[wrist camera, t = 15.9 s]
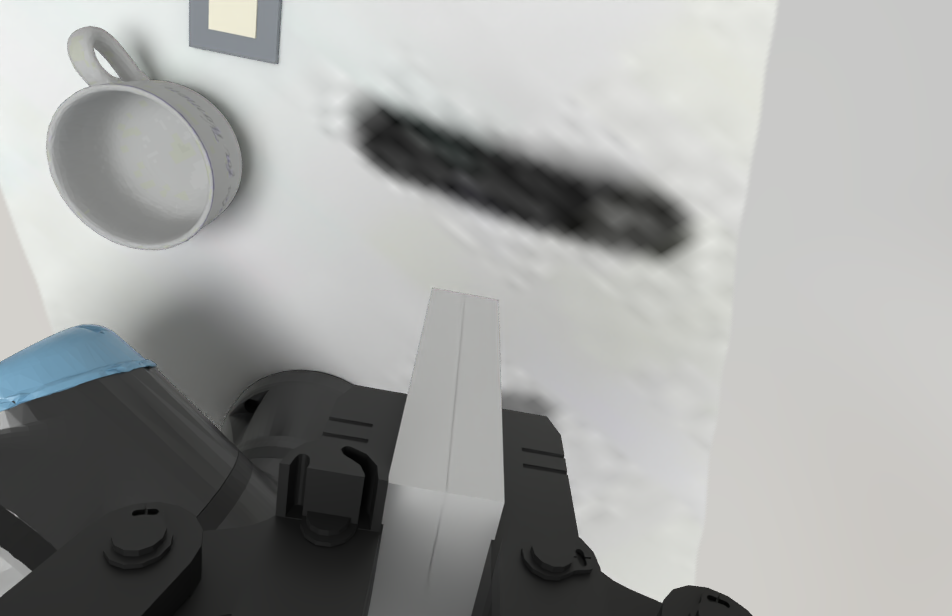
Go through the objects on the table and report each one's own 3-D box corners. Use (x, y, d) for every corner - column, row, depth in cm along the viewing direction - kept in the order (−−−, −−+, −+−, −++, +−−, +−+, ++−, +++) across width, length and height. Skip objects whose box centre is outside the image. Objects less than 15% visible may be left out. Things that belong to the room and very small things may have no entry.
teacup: (267, 217, 49) (228, 249, 41) (132, 222, 49) (69, 255, 42) (231, 22, 43) (178, 19, 36) (80, 30, 44) (-4, 29, 36)
